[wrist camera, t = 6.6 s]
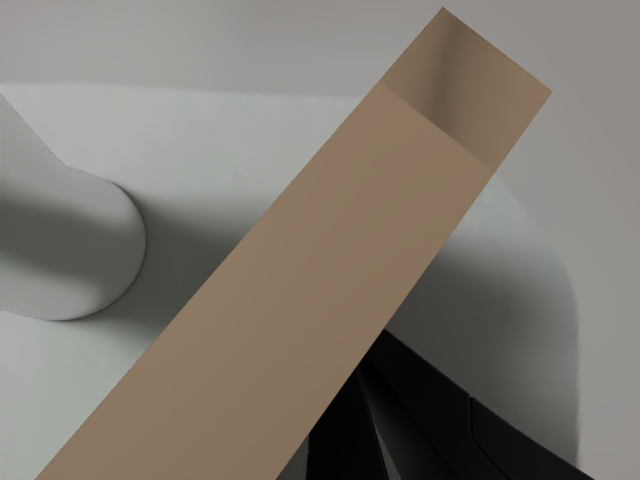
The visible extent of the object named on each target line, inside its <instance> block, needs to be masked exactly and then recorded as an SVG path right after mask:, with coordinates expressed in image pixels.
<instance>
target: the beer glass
mask: <svg viewBox="0 0 640 480" xmlns="http://www.w3.org/2000/svg"><path fill="white" fill-rule="evenodd" d="M145 248H146V232H145V226H144V222H143V219H142V217H141V214H140V212H139V210H138V208H137V206H136V205H135V203H134V202H133V201H132V199H131V198H130V197H129V196H128V195H127V194H126V193H125V192H124V191H123V190H121V189H120V188H119V187H118V186H116V185H115V184H113V183H111V182H109V181H107V180H106V179H104V178H101V177H99V176H97V175H94V174H91V173H88V172H85V171H83V170H79V169H76V168H73V167H70V166H68V165H66V164H65V163H64V162H62V161H61V160H60V159H59V158H58V157H57V156H56V155H55V154H54V153H53V152H52V151H51V150H50V149H49V148H48V146H47V145H46V144H45V143H44V142H43V141H42V140H41V139H40V138H39V136H38V135H37V134H36V133H35V132H34V131H33V129H32V128H31V127H30V126H29V125H28V124H27V123H26V121H25V120H24V119H23V118H22V117H21V116H20V115H19V113H18V112H17V111H16V110H15V109H14V108H13V107H12V106H11V104H10V103H9V102H8V101H7V100H6V99H5V98H4V97H3V96H2V94H1V93H0V311H5V312H10V313H14V314H17V315H21V316H25V317H30V318H35V319H41V320H54V321H61V320H71V319H77V318H81V317H85V316H88V315H90V314H93V313H95V312H97V311H99V310H101V309H103V308H105V307H106V306H108V305H110V304H111V303H112V302H114V301H115V300H116V299H117V298H119V297H120V296H121V295H122V294H123V293H124V292H125V291H126V290H127V288H128V287H129V286H130V285H131V283H132V282H133V280H134V279H135V277H136V276H137V274H138V272H139V270H140V267H141V265H142V262H143V259H144V255H145Z"/></svg>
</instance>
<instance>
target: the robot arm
mask: <svg viewBox="0 0 640 480" xmlns="http://www.w3.org/2000/svg"><path fill="white" fill-rule="evenodd" d="M372 418H373V420H374V422H375V424H376V427H377V429H378V431H379V433H380V435H381V437H382V439H383V441H384V443H385V445H386V447H387V450H388V452H389V454H390V456H391V458H392V460H393V462H394V464H395V466H396V468H397V470H398V472H399V475H400V477H401V479H402V480H594V479H593V478H591V477H590V476H588V475H587V474H585V473H583V472H582V471H580V470H579V469H577V468H576V467H574V466H573V465H571V464H569V463H568V462H566V461H565V460H563V459H562V458H560V457H559V456H557V455H555V454H554V453H552V452H551V451H549V450H548V449H546V448H545V447H543V446H541V445H540V444H538V443H537V442H535V441H534V440H532V439H531V438H529V437H528V436H526V435H525V434H523V433H522V432H520V431H519V430H517V429H516V428H514V427H513V426H511V425H510V424H509V423H507V422H506V421H505V420H503V419H502V418H501V417H499V416H498V415H497V414H495V413H494V412H492V411H491V410H490V409H488V408H487V407H486V406H485V405H483V404H482V403H481V402H479V401H478V400H477V399H476V398H474V397H471V398H470V394H469V393H468V392H466V391H465V390H464V389H463V388H461V387H460V386H459V385H457V384H456V383H455V382H453V381H452V380H451V379H450V378H448V377H447V376H446V375H444V374H443V373H442V372H441V371H439V370H438V369H437V368H435V367H434V366H433V365H432V364H430V363H429V362H428V361H426V360H425V359H424V358H422V357H421V356H420V355H419V354H417V353H416V352H415V351H413V350H412V349H411V348H410V347H408V346H407V345H406V344H404V343H403V342H402V341H401V340H399V339H398V338H397V337H395V336H394V335H393V334H392V333H390V332H389V331H388V330H386V329H385V328H383V330H382V331H381V333H380V334H379V335H378V337H377V338H376V340H375V341H374V342H373V344H372V345H371V347H370V348H369V349H368V351H367V352H366V354H365V355H364V356H363V358H362V359H361V361H360V362H359V363H358V365H357V366H356V368H355V369H354V370H353V372H352V373H351V375H350V376H349V377H348V379H347V380H346V382H345V383H344V384H343V386H342V387H341V389H340V390H339V392H338V393H337V394H336V396H335V397H334V399H333V400H332V401H331V403H330V404H329V406H328V407H327V408H326V410H325V411H324V413H323V414H322V415H321V417H320V418H319V420H318V421H317V422H316V424H315V425H314V427H313V428H312V429H311V431H310V432H309V443H308V451H309V453H308V455H307V468H306V480H389V477H388V473H387V470H386V466H385V463H384V459H383V455H382V452H381V448H380V445H379V441H378V437H377V434H376V430H375V427H374V423H373V420H372Z"/></svg>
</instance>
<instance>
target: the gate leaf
mask: <svg viewBox="0 0 640 480" xmlns="http://www.w3.org/2000/svg"><path fill="white" fill-rule="evenodd" d="M551 93H552V90H550V89H549V88H548V87H546V86H545V85H544V84H542V83H541V82H540V81H538V80H537V79H536V78H535V77H533V76H532V75H531V74H529V73H528V72H527V71H525V70H524V69H523V68H522V67H520V66H519V65H518V64H516V63H515V62H514V61H512V60H511V59H510V58H509V57H507V56H506V55H505V54H503V53H502V52H501V51H499V50H498V49H497V48H496V47H494V46H493V45H492V44H490V43H489V42H488V41H486V40H485V39H484V38H483V37H481V36H480V35H479V34H477V33H476V32H475V31H473V30H472V29H471V28H469V27H468V26H467V25H466V24H464V23H463V22H462V21H460V20H459V19H458V18H457V17H455V16H454V15H453V14H451V13H450V12H449V11H447V10H446V9H445V8H444V7H442V8H441V10H440V11H439V12H438V13H437V14H436V15H435V17H434V18H433V19H432V20H431V21H430V22H429V24H428V25H427V26H426V27H425V28H424V29H423V31H422V32H421V33H420V34H419V35H418V36H417V37H416V38H415V40H414V41H413V42H412V43H411V45H409V47H408V48H407V49H406V50H405V51H404V52H403V54H402V55H401V56H400V57H399V58H398V59H397V60H396V62H395V63H394V64H393V65H392V66H391V67H390V69H389V70H388V71H387V72H386V73H385V75H384V76H383V77H382V78H381V79H380V80H379V81H378V82H377V84H376V85H375V86H374V87H373V88H372V90H371V91H370V92H369V93H368V94H367V95H366V96H365V98H364V99H363V100H362V101H361V102H360V103H359V105H358V106H357V107H356V108H355V109H354V110H353V111H352V113H351V114H350V115H349V116H348V117H347V118H346V120H345V121H344V122H343V123H342V124H341V125H340V127H339V128H338V129H337V130H336V131H335V132H334V133H333V135H332V136H331V137H330V138H329V139H328V140H327V142H326V143H325V144H324V145H323V146H322V147H321V149H320V150H319V151H318V152H317V153H316V154H315V155H314V157H313V158H312V159H311V160H310V161H309V162H308V164H307V165H306V166H305V167H304V168H303V169H302V171H301V172H300V173H299V174H298V175H297V176H296V177H295V179H294V180H293V181H292V182H291V183H290V184H289V186H288V187H287V188H286V189H285V190H284V191H283V193H282V194H281V195H280V196H279V197H278V198H277V199H276V201H275V202H274V203H273V204H272V205H271V206H270V208H269V209H268V210H267V211H266V212H265V213H264V215H263V216H262V217H261V218H260V219H259V220H258V221H257V223H256V224H255V225H254V226H253V227H252V228H251V230H250V231H249V232H248V233H247V234H246V235H245V237H244V238H243V239H242V240H241V241H240V242H239V243H238V245H237V246H236V247H235V248H234V249H233V250H232V252H231V253H230V254H229V255H228V256H227V257H226V259H225V260H224V261H223V262H222V263H221V264H220V265H219V267H218V268H217V269H216V270H215V271H214V272H213V274H212V275H211V276H210V277H209V278H208V279H207V281H206V282H205V283H204V284H203V285H202V286H201V287H200V289H199V290H198V291H197V292H196V293H195V294H194V296H193V297H192V298H191V299H190V300H189V301H188V303H187V304H186V305H185V306H184V307H183V308H182V310H181V311H180V312H179V313H178V314H177V315H176V316H175V318H174V319H173V320H172V321H171V322H170V323H169V325H168V326H167V327H166V328H165V329H164V330H163V332H162V333H161V334H160V335H159V336H158V337H157V338H156V340H155V341H154V342H153V343H152V344H151V345H150V347H149V348H148V349H147V350H146V351H145V352H144V354H143V355H142V356H141V357H140V358H139V359H138V360H137V362H136V363H135V364H134V365H133V366H132V367H131V369H130V370H129V371H128V372H127V373H126V374H125V376H124V377H123V378H122V379H121V380H120V381H119V382H118V384H117V385H116V386H115V387H114V388H113V389H112V391H111V392H110V393H109V394H108V395H107V396H106V398H105V399H104V400H103V401H102V402H101V403H100V404H99V406H98V407H97V408H96V409H95V410H94V411H93V413H92V414H91V415H90V416H89V417H88V418H87V420H86V421H85V422H84V423H83V424H82V425H81V426H80V428H79V429H78V430H77V431H76V432H75V433H74V435H73V436H72V437H71V438H70V439H69V440H68V442H67V443H66V444H65V445H64V446H63V447H62V448H61V450H60V451H59V452H58V453H57V454H56V455H55V457H54V458H53V459H52V460H51V461H50V462H49V464H48V465H47V466H46V467H45V468H44V469H43V470H42V472H41V473H40V474H39V475H38V476H37V477H36V479H35V480H276V478H277V477H278V476H279V474H280V473H281V471H282V470H283V469H284V467H285V466H286V464H287V463H288V462H289V460H290V459H291V457H292V456H293V455H294V453H295V452H296V450H297V449H298V448H299V446H300V445H301V443H302V442H303V441H304V439H305V438H306V436H307V435H308V434H309V432H310V431H311V429H312V428H313V427H314V425H315V424H316V422H317V421H318V420H319V418H320V417H321V415H322V414H323V413H324V411H325V410H326V408H327V407H328V406H329V404H330V403H331V401H332V400H333V399H334V397H335V396H336V394H337V393H338V392H339V390H340V389H341V387H342V386H343V384H344V383H345V382H346V380H347V379H348V377H349V376H350V375H351V373H352V372H353V370H354V369H355V368H356V366H357V365H358V363H359V362H360V361H361V359H362V358H363V356H364V355H365V354H366V352H367V351H368V349H369V348H370V347H371V345H372V344H373V342H374V341H375V340H376V338H377V337H378V335H379V334H380V333H381V331H382V330H383V328H384V327H385V326H386V324H387V323H388V321H389V320H390V319H391V317H392V316H393V314H394V313H395V312H396V310H397V309H398V307H399V306H400V305H401V303H402V302H403V300H404V299H405V298H406V296H407V295H408V293H409V292H410V291H411V289H412V288H413V286H414V285H415V284H416V282H417V281H418V279H419V278H420V277H421V275H422V274H423V272H424V271H425V270H426V268H427V267H428V265H429V264H430V263H431V261H432V260H433V258H434V257H435V256H436V254H437V253H438V251H439V250H440V249H441V247H442V246H443V244H444V243H445V242H446V240H447V239H448V237H449V236H450V235H451V233H452V232H453V230H454V229H455V228H456V226H457V225H458V223H459V222H460V221H461V219H462V218H463V216H464V215H465V214H466V212H467V211H468V209H469V208H470V207H471V205H472V204H473V202H474V201H475V200H476V198H477V197H478V195H479V194H480V193H481V191H482V190H483V188H484V187H485V186H486V184H487V183H488V181H489V180H490V178H491V177H492V176H493V174H494V173H495V171H496V170H497V169H498V167H499V166H500V164H501V163H502V162H503V160H504V159H505V157H506V156H507V155H508V153H509V152H510V150H511V149H512V148H513V146H514V145H515V143H516V142H517V141H518V139H519V138H520V136H521V135H522V134H523V132H524V131H525V129H526V128H527V127H528V125H529V124H530V122H531V121H532V120H533V118H534V117H535V115H536V114H537V113H538V111H539V110H540V108H541V107H542V106H543V104H544V103H545V101H546V100H547V99H548V97H549V96H550V94H551Z"/></svg>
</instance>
